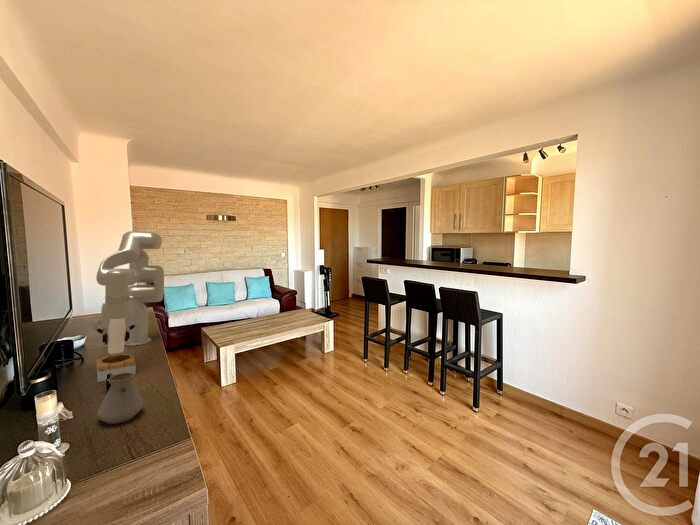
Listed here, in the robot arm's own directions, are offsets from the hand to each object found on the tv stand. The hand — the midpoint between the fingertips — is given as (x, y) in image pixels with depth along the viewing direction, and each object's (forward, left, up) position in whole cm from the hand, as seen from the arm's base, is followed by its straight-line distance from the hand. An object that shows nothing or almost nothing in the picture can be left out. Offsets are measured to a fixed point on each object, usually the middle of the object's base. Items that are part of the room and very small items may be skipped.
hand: (116, 341), depth 122 cm
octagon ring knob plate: (0, 0, -13) cm, 13 cm away
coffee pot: (+46, -1, -13) cm, 48 cm away
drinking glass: (0, 0, -5) cm, 5 cm away
